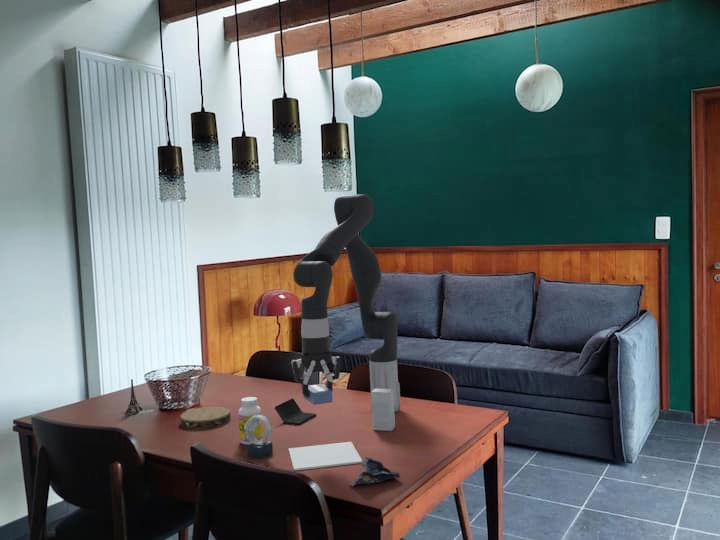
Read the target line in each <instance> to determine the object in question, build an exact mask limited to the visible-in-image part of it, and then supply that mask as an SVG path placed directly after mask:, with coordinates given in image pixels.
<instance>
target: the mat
mask: <svg viewBox="0 0 720 540" xmlns="http://www.w3.org/2000/svg"><path fill="white" fill-rule="evenodd" d="M287 450H288V454H289V458H290V461H291V465H292V468H293V471H294V472H296V471H304V470H305V471H306V470H314V469H322V468H329V467H338V466H349V465H355V464H356V465H357V464H362V461H363V460H362V459H363V458H362V457H361V456H360V454H359V452H358V451H357V449H356V448H355V446H354V444H353V442H352V441H346V442H338V443H327V444H318V445H317V444H316V445H308V446H301V447H300V446H299V447H291V448H290V447H289V448H288V449H287Z"/></svg>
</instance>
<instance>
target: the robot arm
mask: <svg viewBox="0 0 720 540" xmlns="http://www.w3.org/2000/svg"><path fill="white" fill-rule="evenodd" d="M333 209H334V210H333V211H334V217H335V221H336V224H337V226H335V227H334V228H332V229H331V230H329V231H327V232H326V233H325V234H324V235H323V236H322V237H321V239H320V241H319V242H317V243H318V244H317V245H316V247H315V248H314V249H313V250H311V251H310V252H308V254H305V256H304V257H302V258H301V259H300V260H299V261H298V262H297V264H296V265H295V267H294V270H293V279H294V280H293V281H294V282H295V284H296V285H297V286H299V287H302V288H315V289H314V293H313V294H312V295H307V296H304V297H303V298H302V299H301V305H300V307H301V327H300V328H301V330H300V335H301V357H300V358H299V359H292V360H290V364H291V368H292V373H293V376H294V380H295V381H296V382H297V383H299V384H301V390H302V391H301V394H302V396H303V395H304V396H305V397H306V398H309V391H308V386H309V384H308V383H309V380H310V377H311V376H312V373H317V372H319V373H323V374H324V376H325V378H326V381H325V387H327V388H329V389H330V390H332V393H333V382H334V381H335V380H338V379H339V378H340V373H341V367H342V360H343V359H342V358H341V356H338V355H337V356H333V355H332V354H331V345H330V344H331V343H330V324H329V319H328V301H329V295H330V290H331V287H332V282H333V277H334V276H333V274H334V273H333V269H332V267H333V266H334V265H335V264H336V263H337V261H338V260H339V258H340V256H341V255H342V253H343V252H344V250H345V251H346V255H347V259H348V263H349V268H350V272H351V275H352V280H353V284H354V286H355V292H356V296H357V300H358V304H359V305H358V307H359V311H360V318H361V319H360V320H361V325H362V331H363V334H364V335H365V337H366V339H369V340H378V341H379V340H383V345H382V346H381V347H380V346H379V347H378V348H375V349H373V350H370V351H369V353H368V360H369V381H370V382H369V384H370V392H371V391H373V390H374V389H375V388H376V389H393V396H394V413H396V412H401V410H402V409H401V393H400V392H401V388H400V382H399V380H398V379H399V378H398V377H399V376H398V355H397V354H398V318H397V315H396V314H395V313H394V312H393V311H375V309H374V305H373V304H374V303H373V301H374V297H375V295H376V292H377V291H378V288H379V286H380V284H381V281H382V272H381V267H380V263H379V260H378V259H379V258H378V256H377V254H375V252H374V251H373V249H371V248H370V246H369V245H368V244H367V243H366V242H365V241H364V240H363V239H362V237H361V236H360V234H359V233H360V232H361V231H362V230H363V229H364V228H365V227H366V226H367V225H368V224H369V223H370V221H372V218H373V215H374V203H373V200H372V198H371V197H370V196H369V195H368V194H358V193H357V194H343V195H342V194H341V195H339V196H336V198H335V200H334V204H333ZM331 362H332V364H333V372H332V374H331V372H330V369H329V368H328V367H329V365H330V363H331ZM301 364H302V365H303V366H304V367H305V368H304V370H303V375H302V377H301V374H300V372H299V371H300V370H299V368H300V367H301ZM304 396H303V397H304ZM370 406H371V411H372V399H371V398H370Z"/></svg>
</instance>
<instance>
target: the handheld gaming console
mask: <svg viewBox="0 0 720 540" xmlns="http://www.w3.org/2000/svg"><path fill="white" fill-rule="evenodd" d="M274 410H275V411H276V413H277V414H278V416H279V417H280V420H282V421H283V424H284V425H290V424H294V425H293V426H298V425H299V426H301V425H303V424H305V423H306V421H307V422H308V421H310V420H312V419H314V418H316V417H317V413H311V412H303V411H302V409H301V408H300V407H299V405H298V404H297V402H296V400H295V399H294V398H290V399H288V400H286V401H284V402H282V403H279V404H278V405H276V406H275V407H274ZM315 416H316V417H315ZM313 417H314V418H313ZM309 419H310V420H309ZM304 422H305V423H304ZM302 423H303V424H302ZM300 424H301V425H300Z"/></svg>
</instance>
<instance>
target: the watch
mask: <svg viewBox="0 0 720 540" xmlns="http://www.w3.org/2000/svg"><path fill="white" fill-rule="evenodd" d="M260 420H261V421H262V423H263V425H264V426H265V432H264V436H263V437H262V440H258V439H257V438H256V437H255V436H254V434H253V432H254V430H255V428H256V427H257V426H258V424H259V422H260ZM271 423H272V422H271V421H270V419H269V418H268V417H267V416H265V415H264V414H261V415H257V416H256V415H254V416H252V417H251V418H249V419H248V421H247V422H246V424H245V426H244V429H245V433H246V435H247V437H248V439H250V441H251V442H252V444H250V445H246V447H247V448H246V449H247V457H248V458H252V459H257V460H261V459H263V458H265V457H267V456H269V455H271V454H273V453H274V451H273V449H274V448H273V441H270V439H271V437H272V433H273V428H272V427H273V426H272V424H271Z"/></svg>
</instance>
